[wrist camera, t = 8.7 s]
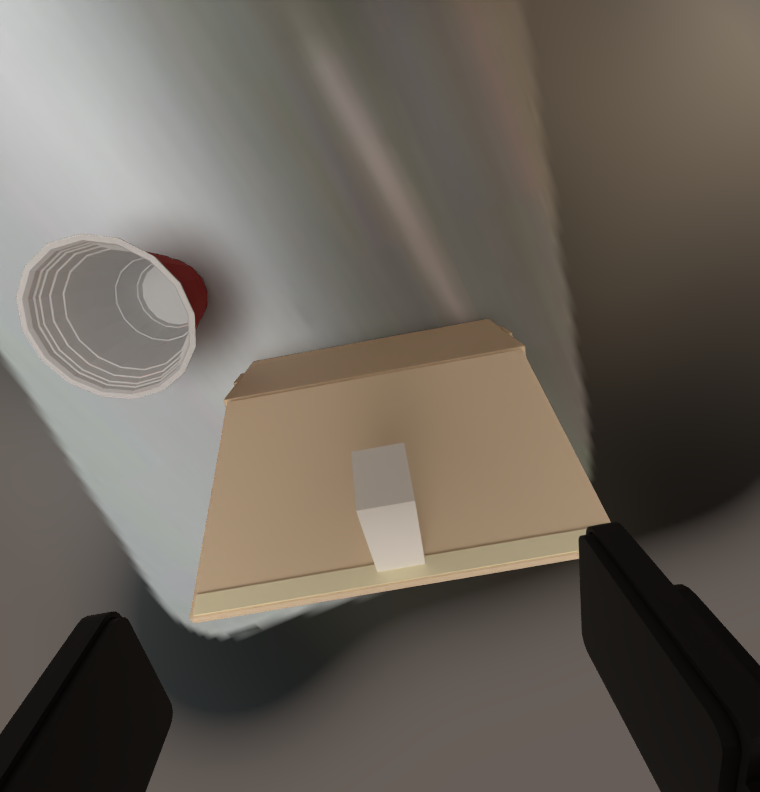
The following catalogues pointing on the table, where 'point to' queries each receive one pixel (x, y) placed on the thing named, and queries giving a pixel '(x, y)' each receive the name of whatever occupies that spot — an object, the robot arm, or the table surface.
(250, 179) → the table surface
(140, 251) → the plastic cup
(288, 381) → the carton
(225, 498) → the flap
